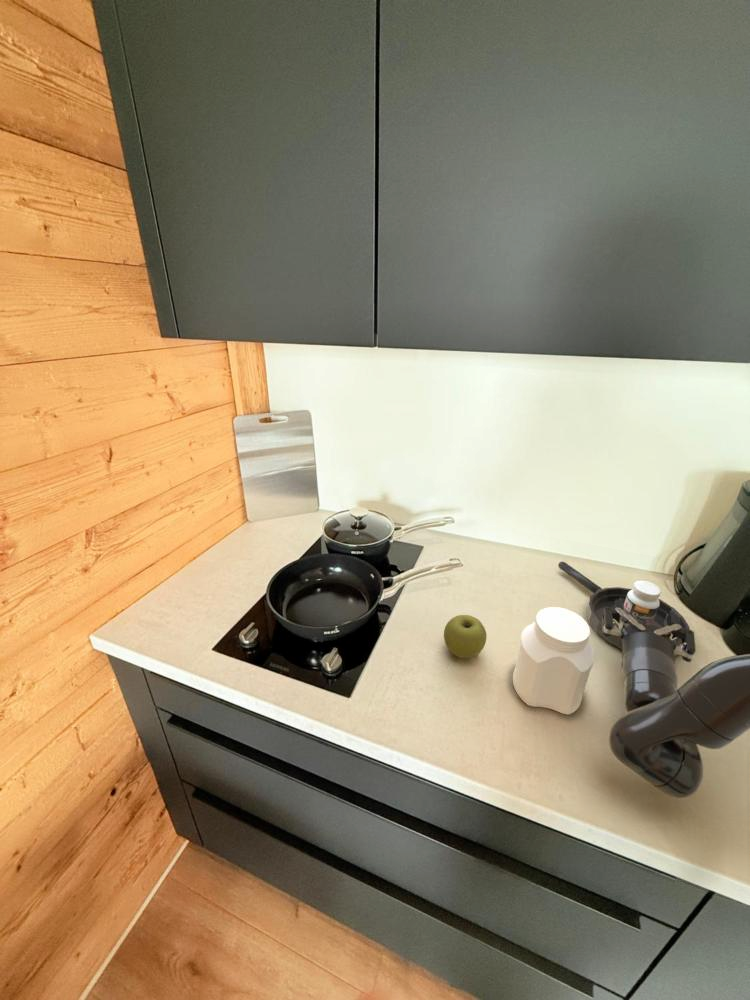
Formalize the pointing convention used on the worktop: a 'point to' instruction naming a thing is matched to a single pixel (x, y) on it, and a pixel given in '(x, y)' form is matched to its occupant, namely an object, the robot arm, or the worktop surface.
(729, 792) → the worktop surface
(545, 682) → the jar
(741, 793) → the worktop surface
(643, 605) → the pill bottle
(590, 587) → the pan handle
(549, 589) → the worktop surface
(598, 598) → the pan
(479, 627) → the apple
